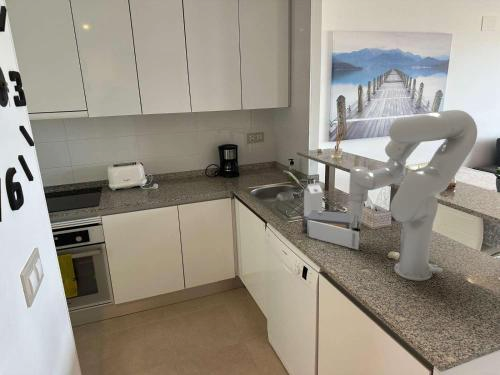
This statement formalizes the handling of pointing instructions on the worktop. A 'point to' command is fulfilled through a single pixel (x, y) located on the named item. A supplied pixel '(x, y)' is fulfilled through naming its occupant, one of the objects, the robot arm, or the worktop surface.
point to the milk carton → (312, 198)
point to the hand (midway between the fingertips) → (355, 236)
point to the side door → (333, 234)
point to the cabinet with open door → (328, 219)
